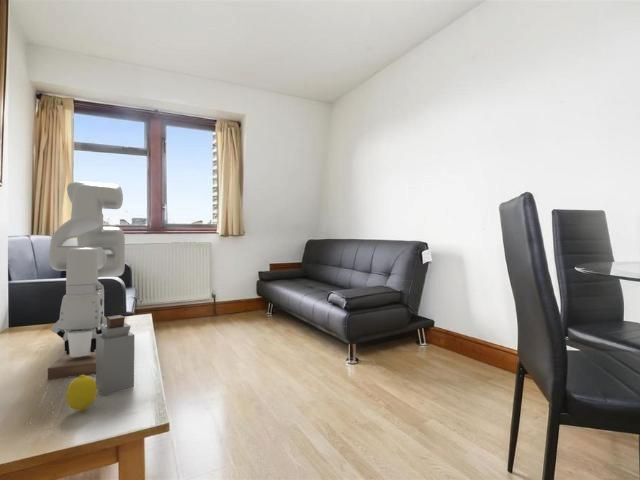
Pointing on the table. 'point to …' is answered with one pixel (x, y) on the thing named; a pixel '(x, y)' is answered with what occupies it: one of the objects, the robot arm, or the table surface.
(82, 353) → the white cup
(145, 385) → the table surface
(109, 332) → the perfume bottle
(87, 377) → the lemon
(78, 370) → the walnut plinth
